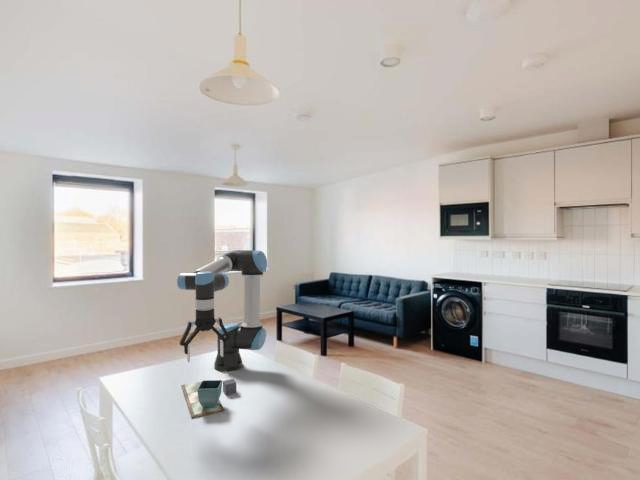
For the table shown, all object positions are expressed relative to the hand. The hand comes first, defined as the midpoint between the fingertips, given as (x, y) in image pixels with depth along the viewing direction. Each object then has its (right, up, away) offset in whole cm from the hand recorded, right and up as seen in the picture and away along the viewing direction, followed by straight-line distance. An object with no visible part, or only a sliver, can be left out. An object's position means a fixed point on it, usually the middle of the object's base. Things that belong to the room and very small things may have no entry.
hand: (205, 358), depth 153 cm
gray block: (+6, -21, +16) cm, 27 cm away
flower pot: (+2, -21, +1) cm, 21 cm away
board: (-5, -21, +10) cm, 24 cm away
